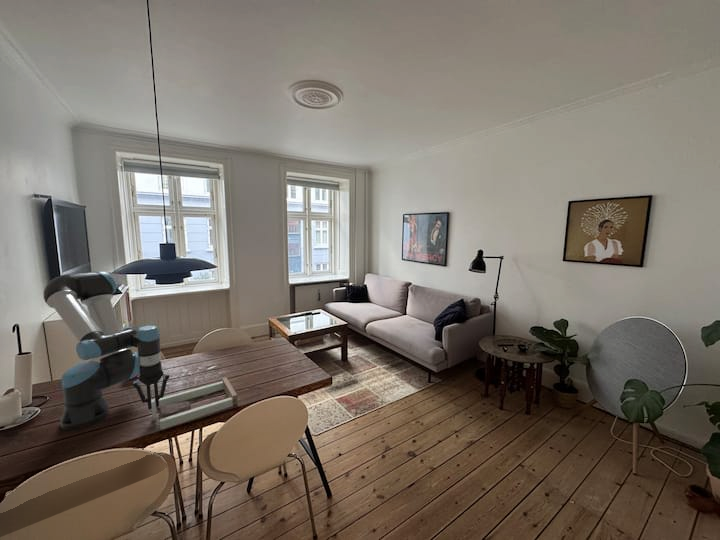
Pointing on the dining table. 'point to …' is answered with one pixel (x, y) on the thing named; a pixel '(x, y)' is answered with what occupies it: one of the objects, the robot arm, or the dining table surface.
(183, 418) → the grey u-shaped frame
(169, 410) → the stone
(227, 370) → the dining table surface
